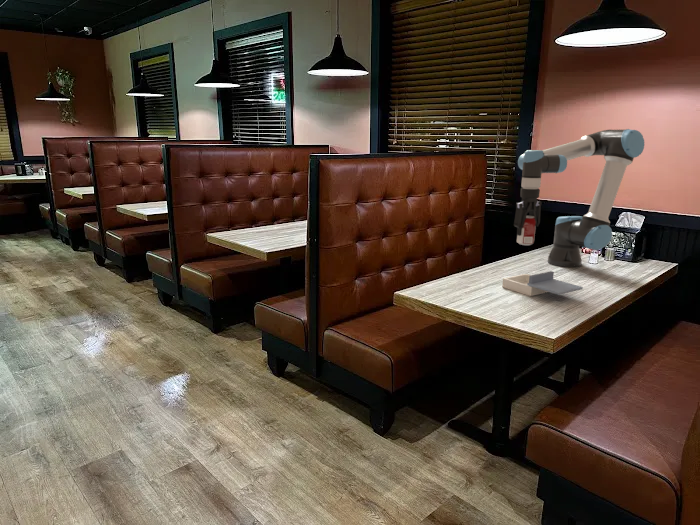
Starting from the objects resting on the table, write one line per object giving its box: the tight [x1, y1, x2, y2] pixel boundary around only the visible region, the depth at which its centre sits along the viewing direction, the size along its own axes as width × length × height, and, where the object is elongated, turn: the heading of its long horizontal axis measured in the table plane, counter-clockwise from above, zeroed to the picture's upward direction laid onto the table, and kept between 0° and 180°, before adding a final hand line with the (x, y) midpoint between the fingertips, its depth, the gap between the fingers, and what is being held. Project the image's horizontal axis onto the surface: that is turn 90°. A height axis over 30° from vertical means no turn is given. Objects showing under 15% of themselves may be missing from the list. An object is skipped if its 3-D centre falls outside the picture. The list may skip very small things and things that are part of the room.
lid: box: [527, 270, 584, 296], centre depth 190 cm, size 14×14×4 cm
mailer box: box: [502, 273, 549, 297], centre depth 201 cm, size 14×14×4 cm
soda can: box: [518, 215, 536, 246], centre depth 213 cm, size 7×7×12 cm
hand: (525, 241), depth 214 cm, fingers closed on soda can, 6 cm apart
